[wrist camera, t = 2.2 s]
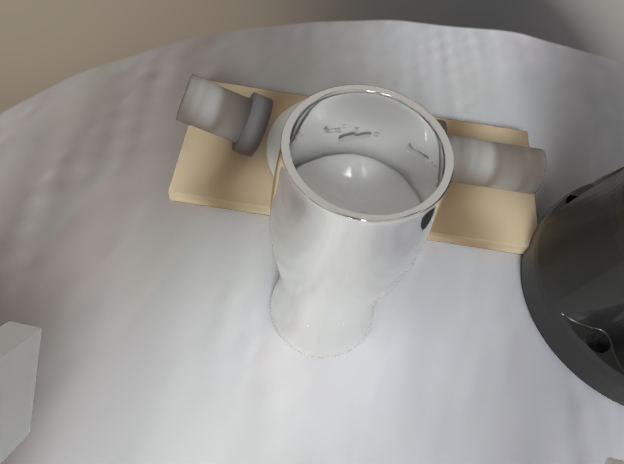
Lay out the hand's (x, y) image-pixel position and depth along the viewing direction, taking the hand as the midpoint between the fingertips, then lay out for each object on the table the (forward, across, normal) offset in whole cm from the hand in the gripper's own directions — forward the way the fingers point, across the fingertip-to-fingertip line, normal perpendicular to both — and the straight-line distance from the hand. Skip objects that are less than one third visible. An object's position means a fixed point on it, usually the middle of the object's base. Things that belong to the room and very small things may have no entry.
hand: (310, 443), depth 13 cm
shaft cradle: (+28, +1, +3) cm, 28 cm away
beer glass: (+21, 0, -5) cm, 21 cm away
